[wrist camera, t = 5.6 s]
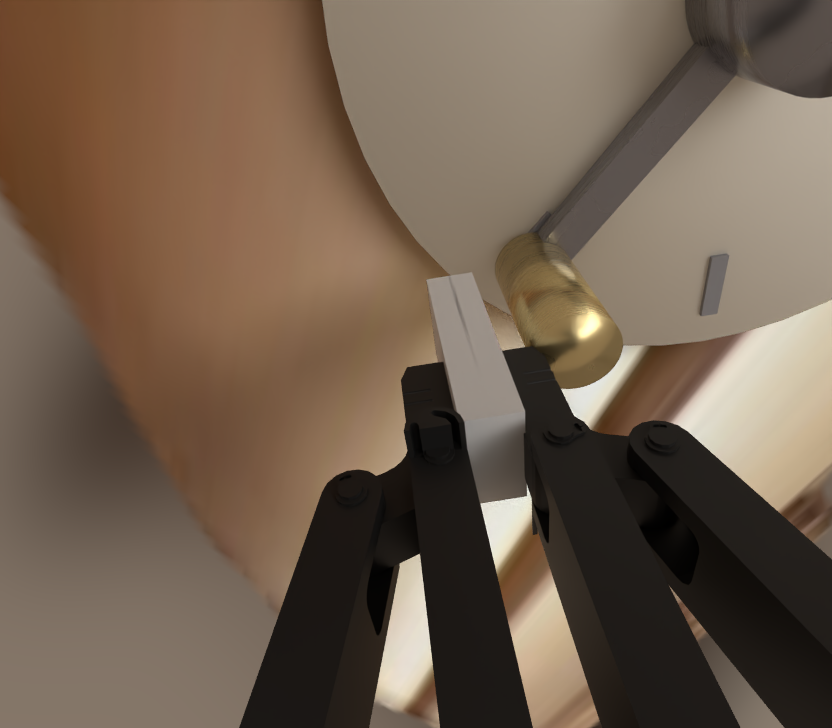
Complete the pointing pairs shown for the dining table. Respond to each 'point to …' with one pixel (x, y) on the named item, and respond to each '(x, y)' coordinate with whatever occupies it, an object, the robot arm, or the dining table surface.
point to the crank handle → (638, 154)
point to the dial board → (589, 156)
